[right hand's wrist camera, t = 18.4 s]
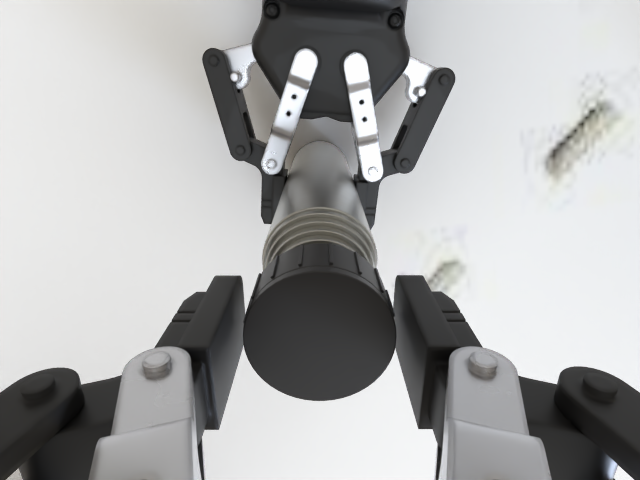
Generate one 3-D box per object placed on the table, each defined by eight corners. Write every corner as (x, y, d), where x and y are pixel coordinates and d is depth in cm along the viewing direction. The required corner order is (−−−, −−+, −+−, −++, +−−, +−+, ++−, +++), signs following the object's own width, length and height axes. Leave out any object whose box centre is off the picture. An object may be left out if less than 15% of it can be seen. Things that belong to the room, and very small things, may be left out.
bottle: (355, 152, 30) (426, 288, 10) (336, 203, 32) (364, 411, 12) (302, 132, 30) (265, 236, 10) (285, 185, 31) (221, 371, 11)
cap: (408, 267, 12) (423, 299, 10) (357, 373, 13) (363, 418, 11) (275, 222, 11) (267, 248, 9) (237, 338, 13) (224, 379, 11)
